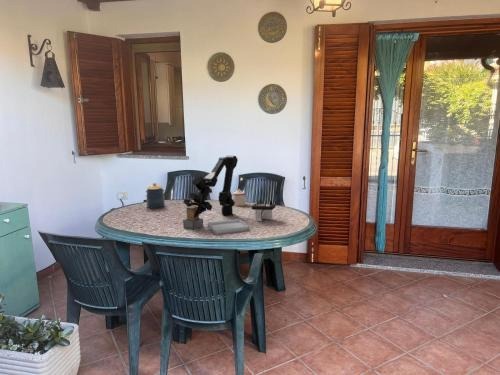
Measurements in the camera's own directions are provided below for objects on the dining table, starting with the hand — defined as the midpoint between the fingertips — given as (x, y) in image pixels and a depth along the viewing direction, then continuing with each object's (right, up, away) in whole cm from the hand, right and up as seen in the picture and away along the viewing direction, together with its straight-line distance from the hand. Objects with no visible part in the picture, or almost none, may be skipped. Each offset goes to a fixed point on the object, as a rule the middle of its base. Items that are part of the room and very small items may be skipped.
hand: (191, 216), depth 225 cm
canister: (-34, +3, +56) cm, 66 cm away
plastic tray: (+22, -7, -3) cm, 23 cm away
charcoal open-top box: (+1, -6, +2) cm, 7 cm away
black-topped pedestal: (+43, -4, +14) cm, 46 cm away
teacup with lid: (+25, +4, +58) cm, 63 cm away
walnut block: (+1, -6, +2) cm, 7 cm away
